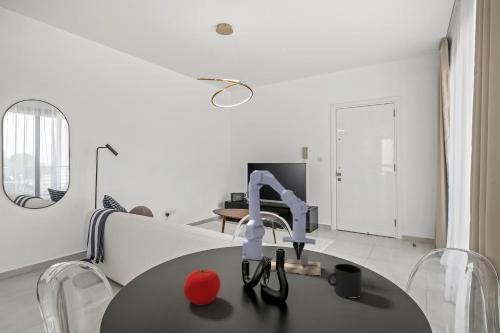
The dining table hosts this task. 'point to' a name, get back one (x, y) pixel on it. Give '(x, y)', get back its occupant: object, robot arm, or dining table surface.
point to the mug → (347, 280)
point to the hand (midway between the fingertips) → (298, 259)
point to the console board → (298, 267)
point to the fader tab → (304, 259)
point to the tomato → (201, 286)
